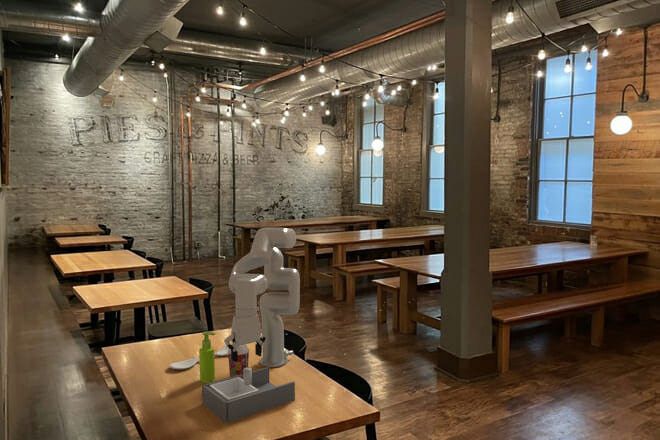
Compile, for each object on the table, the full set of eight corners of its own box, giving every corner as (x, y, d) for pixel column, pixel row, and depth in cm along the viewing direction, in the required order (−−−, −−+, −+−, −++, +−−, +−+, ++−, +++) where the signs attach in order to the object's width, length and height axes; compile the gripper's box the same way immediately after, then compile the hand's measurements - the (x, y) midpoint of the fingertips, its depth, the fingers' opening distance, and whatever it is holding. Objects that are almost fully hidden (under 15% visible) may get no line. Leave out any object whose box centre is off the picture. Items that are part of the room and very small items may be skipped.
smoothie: (253, 381, 205) (252, 333, 203) (243, 389, 197) (242, 339, 195) (235, 378, 207) (234, 331, 206) (224, 386, 199) (223, 337, 198)
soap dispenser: (213, 383, 202) (212, 335, 200) (197, 382, 204) (196, 334, 202) (219, 377, 208) (218, 330, 206) (204, 376, 209) (202, 329, 207)
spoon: (238, 355, 235) (238, 347, 235) (176, 374, 212) (175, 366, 212) (227, 350, 241) (227, 343, 241) (165, 369, 218) (165, 361, 218)
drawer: (241, 391, 192) (241, 362, 191) (262, 404, 180) (261, 374, 179) (209, 400, 184) (209, 370, 183) (228, 415, 172) (228, 383, 171)
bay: (268, 383, 202) (267, 366, 201) (294, 400, 187) (294, 382, 186) (202, 403, 184) (201, 385, 184) (226, 423, 170) (225, 403, 169)
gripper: (261, 306, 191) (262, 350, 192) (219, 313, 180) (220, 360, 181) (272, 310, 185) (272, 356, 186) (229, 317, 174) (230, 366, 175)
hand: (246, 358), depth 183 cm, fingers open, 9 cm apart
